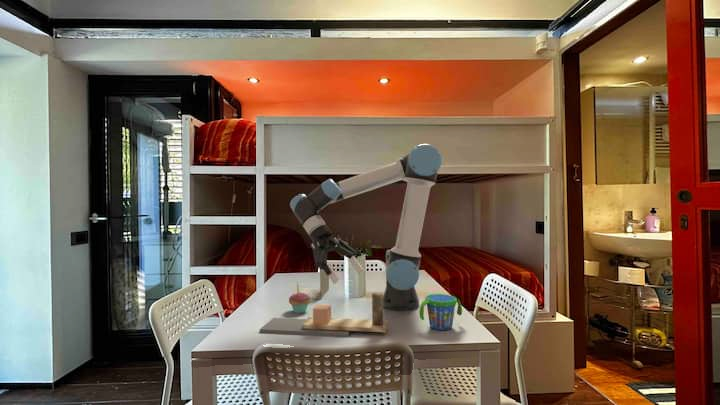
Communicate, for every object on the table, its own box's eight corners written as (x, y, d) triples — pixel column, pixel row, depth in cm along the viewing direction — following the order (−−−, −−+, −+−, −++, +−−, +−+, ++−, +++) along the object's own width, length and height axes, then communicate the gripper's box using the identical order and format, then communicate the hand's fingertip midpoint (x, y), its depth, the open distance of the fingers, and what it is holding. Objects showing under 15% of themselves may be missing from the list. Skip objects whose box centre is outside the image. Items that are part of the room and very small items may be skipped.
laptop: (304, 289, 184) (303, 262, 183) (329, 289, 182) (329, 263, 182) (293, 299, 166) (293, 270, 165) (321, 300, 164) (321, 270, 164)
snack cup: (454, 320, 135) (454, 292, 135) (469, 330, 125) (469, 300, 125) (413, 323, 132) (413, 295, 132) (425, 334, 121) (425, 303, 121)
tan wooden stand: (387, 323, 128) (387, 291, 128) (385, 332, 120) (385, 297, 120) (308, 320, 133) (308, 288, 132) (301, 328, 125) (301, 294, 124)
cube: (331, 319, 130) (331, 305, 130) (327, 324, 125) (327, 309, 125) (317, 318, 130) (317, 304, 130) (313, 323, 126) (313, 308, 125)
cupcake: (306, 315, 143) (305, 283, 142) (285, 313, 144) (284, 282, 144) (313, 308, 151) (313, 278, 151) (293, 307, 153) (293, 278, 152)
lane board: (354, 324, 132) (354, 321, 132) (347, 336, 120) (347, 333, 120) (273, 320, 137) (273, 317, 137) (259, 332, 125) (259, 329, 125)
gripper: (334, 231, 151) (364, 274, 143) (287, 242, 131) (319, 292, 124) (344, 219, 147) (376, 262, 140) (297, 228, 127) (331, 279, 120)
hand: (349, 276), depth 132 cm, fingers open, 13 cm apart
